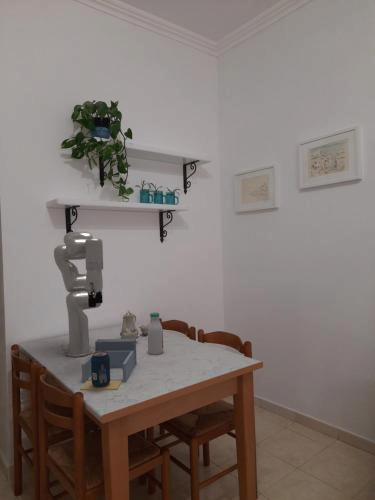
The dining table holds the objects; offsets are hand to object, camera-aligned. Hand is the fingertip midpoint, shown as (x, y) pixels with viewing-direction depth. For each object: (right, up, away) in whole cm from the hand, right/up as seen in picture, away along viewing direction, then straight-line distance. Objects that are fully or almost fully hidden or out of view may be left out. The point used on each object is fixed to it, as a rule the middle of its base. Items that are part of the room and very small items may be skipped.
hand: (95, 305), depth 158 cm
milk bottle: (+25, -28, +21) cm, 43 cm away
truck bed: (+8, -28, -7) cm, 30 cm away
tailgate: (+8, -28, -17) cm, 33 cm away
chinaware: (+9, -28, +50) cm, 58 cm away
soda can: (+8, -27, -22) cm, 36 cm away
